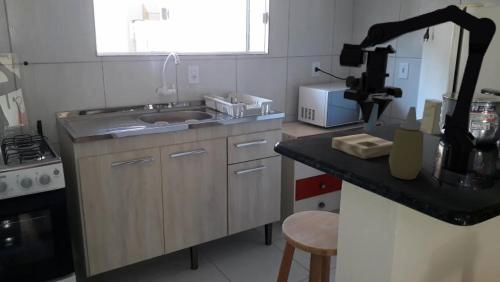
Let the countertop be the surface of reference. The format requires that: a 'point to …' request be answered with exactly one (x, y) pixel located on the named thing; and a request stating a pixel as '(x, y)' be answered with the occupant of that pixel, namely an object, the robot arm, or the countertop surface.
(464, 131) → the robot arm
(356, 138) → the board
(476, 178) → the countertop surface
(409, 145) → the squeeze bottle
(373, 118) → the peg
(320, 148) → the countertop surface
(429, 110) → the skincare box
